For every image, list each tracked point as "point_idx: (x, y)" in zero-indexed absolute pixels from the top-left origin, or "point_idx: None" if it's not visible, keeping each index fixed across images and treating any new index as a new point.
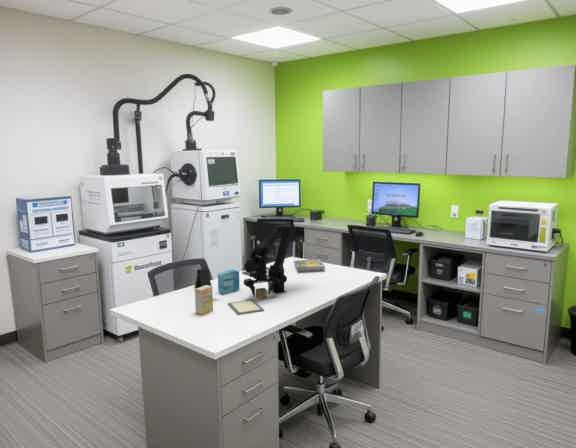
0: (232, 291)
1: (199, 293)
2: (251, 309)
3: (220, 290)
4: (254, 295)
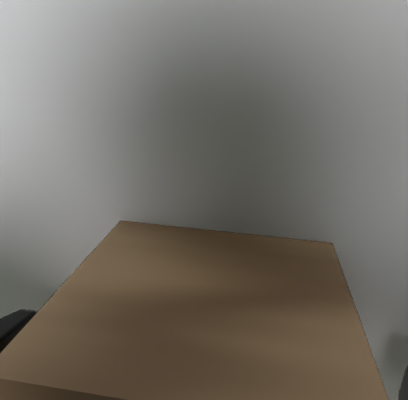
0: None
1: None
2: None
3: None
4: None
